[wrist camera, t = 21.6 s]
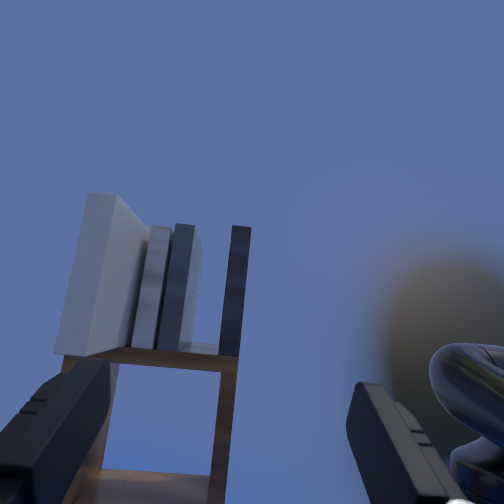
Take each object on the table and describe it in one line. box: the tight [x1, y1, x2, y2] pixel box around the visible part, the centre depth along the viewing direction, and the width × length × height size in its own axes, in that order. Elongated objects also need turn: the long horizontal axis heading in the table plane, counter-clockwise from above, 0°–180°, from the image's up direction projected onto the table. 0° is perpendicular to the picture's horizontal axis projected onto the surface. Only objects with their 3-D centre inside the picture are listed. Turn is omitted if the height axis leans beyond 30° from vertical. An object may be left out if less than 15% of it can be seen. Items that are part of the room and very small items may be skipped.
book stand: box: [61, 223, 251, 504], centre depth 34 cm, size 12×16×43 cm
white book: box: [53, 191, 150, 357], centre depth 32 cm, size 20×2×12 cm, turn 4°
